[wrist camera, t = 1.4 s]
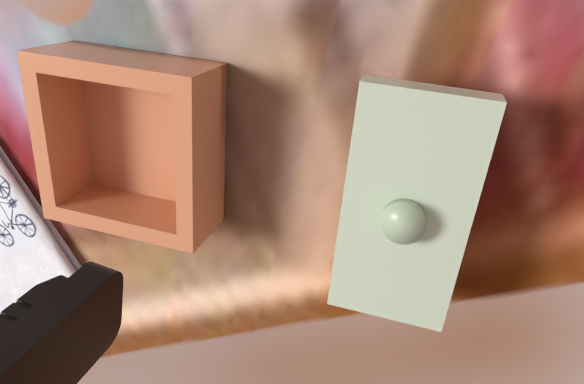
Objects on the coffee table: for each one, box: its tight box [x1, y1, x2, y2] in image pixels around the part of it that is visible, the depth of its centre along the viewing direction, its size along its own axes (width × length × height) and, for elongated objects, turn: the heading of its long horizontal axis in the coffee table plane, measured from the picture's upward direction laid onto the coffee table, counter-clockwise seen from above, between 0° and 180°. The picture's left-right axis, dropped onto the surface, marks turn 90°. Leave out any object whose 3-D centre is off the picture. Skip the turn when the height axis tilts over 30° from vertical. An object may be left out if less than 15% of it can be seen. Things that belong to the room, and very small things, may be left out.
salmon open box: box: [17, 41, 228, 254], centre depth 28 cm, size 10×10×4 cm
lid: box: [327, 75, 507, 332], centre depth 23 cm, size 6×12×2 cm, turn 174°
